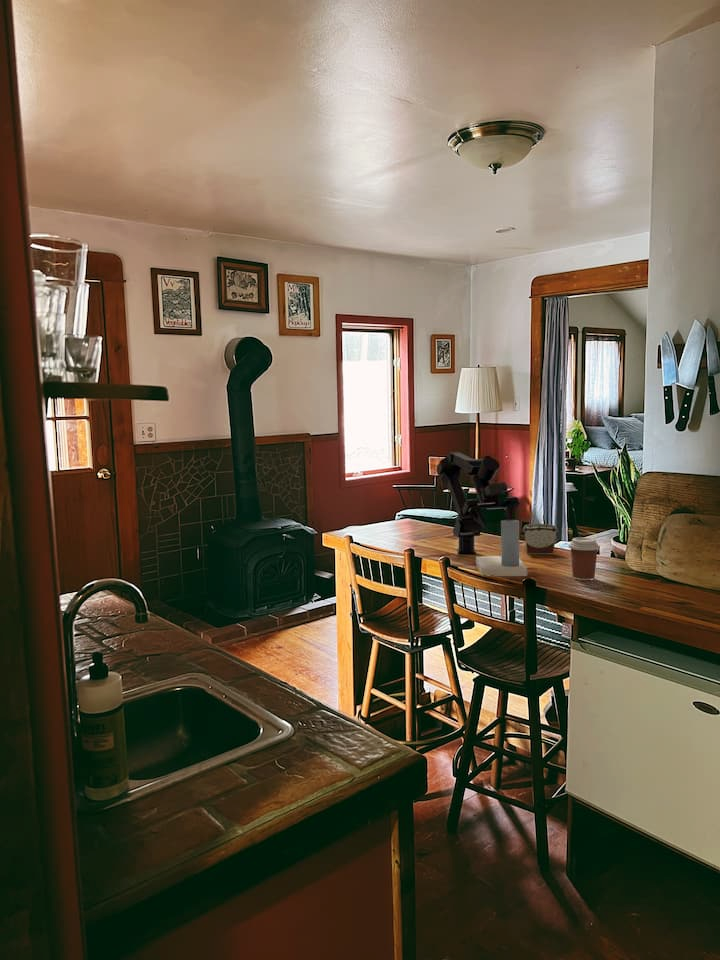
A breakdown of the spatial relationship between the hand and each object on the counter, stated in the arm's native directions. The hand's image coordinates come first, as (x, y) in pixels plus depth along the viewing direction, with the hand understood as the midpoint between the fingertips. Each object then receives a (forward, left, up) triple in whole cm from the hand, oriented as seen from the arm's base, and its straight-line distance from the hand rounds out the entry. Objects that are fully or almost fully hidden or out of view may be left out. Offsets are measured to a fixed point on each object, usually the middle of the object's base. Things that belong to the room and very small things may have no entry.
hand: (498, 526), depth 231 cm
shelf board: (+3, 0, -13) cm, 14 cm away
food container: (-25, +18, -14) cm, 33 cm away
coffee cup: (+15, +24, -14) cm, 31 cm away
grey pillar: (+8, +3, -11) cm, 14 cm away
